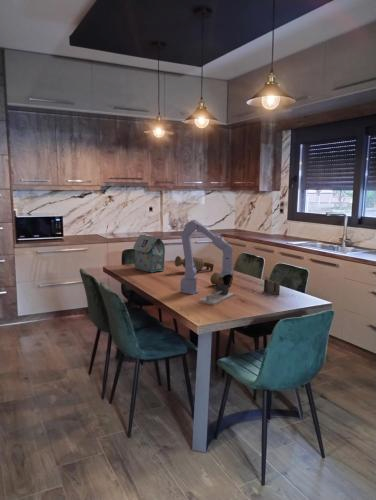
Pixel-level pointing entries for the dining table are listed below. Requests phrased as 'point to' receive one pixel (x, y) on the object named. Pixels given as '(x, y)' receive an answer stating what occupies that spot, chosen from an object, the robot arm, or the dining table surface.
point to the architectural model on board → (271, 286)
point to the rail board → (216, 298)
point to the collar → (222, 288)
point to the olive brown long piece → (197, 262)
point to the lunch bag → (149, 253)
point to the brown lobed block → (219, 279)
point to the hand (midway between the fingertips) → (226, 286)
